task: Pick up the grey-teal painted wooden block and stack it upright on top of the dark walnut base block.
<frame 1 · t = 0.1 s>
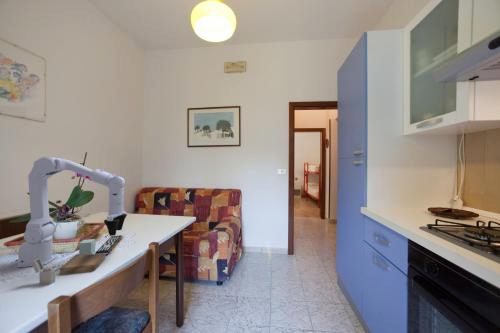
hand: (115, 232, 95), 10 cm above the table, fingers open, 7 cm apart
lighter: (43, 283, 72), on the table
walnut base: (84, 267, 84), on the table
teal block: (87, 254, 95), on the table
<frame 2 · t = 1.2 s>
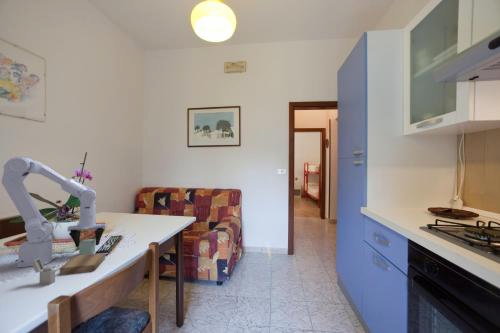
hand: (87, 245, 95), 4 cm above the table, fingers open, 7 cm apart
nothing on the table moved.
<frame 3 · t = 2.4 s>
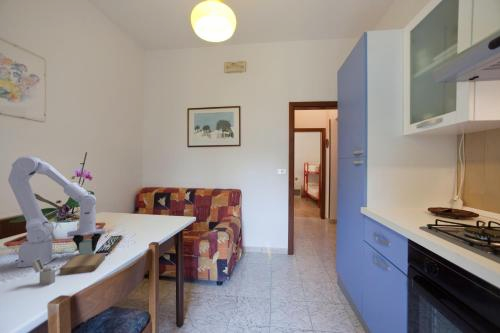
hand: (87, 250, 95), 1 cm above the table, fingers closed on teal block, 4 cm apart
teal block: (87, 254, 95), on the table, touching gripper
everything else where it was.
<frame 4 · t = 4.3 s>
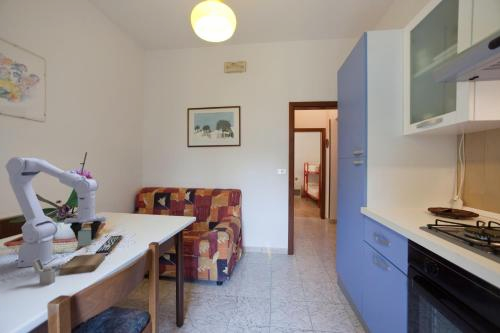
hand: (86, 239, 88), 9 cm above the table, fingers closed on teal block, 4 cm apart
teal block: (86, 243, 88), point 7 cm above the table, touching gripper
everything else where it was.
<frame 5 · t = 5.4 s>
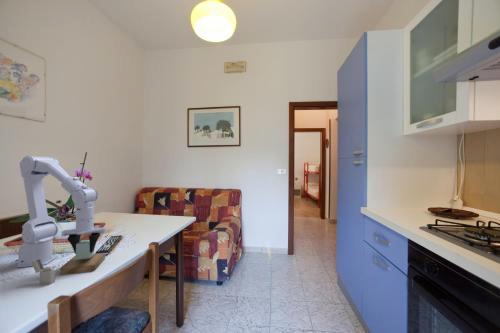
hand: (84, 252, 84), 6 cm above the table, fingers closed on teal block, 4 cm apart
teal block: (85, 256, 84), point 4 cm above the table, touching gripper
everything else where it was.
when the fingers open (6 cm above the table, at t = 6.2 s): teal block drops 1 cm, point 2 cm above the table.
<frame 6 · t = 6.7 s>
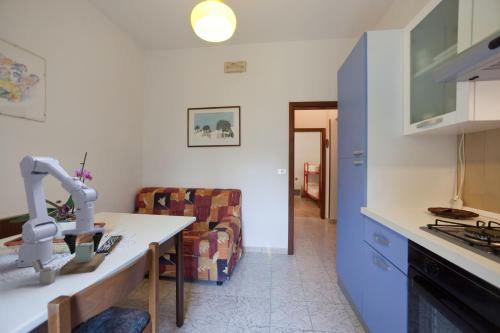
hand: (84, 252, 84), 6 cm above the table, fingers open, 7 cm apart
teal block: (84, 259, 84), point 2 cm above the table
everything else where it was.
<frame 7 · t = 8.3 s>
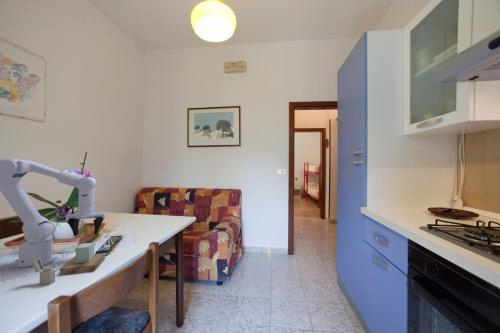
hand: (86, 234, 92), 10 cm above the table, fingers open, 7 cm apart
walnut base: (84, 267, 84), on the table, touching teal block
teal block: (85, 260, 84), point 2 cm above the table, touching walnut base
everything else where it was.
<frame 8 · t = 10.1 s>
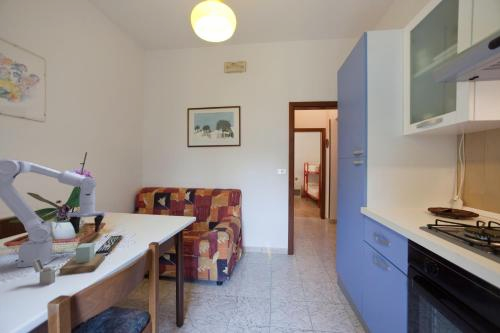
hand: (87, 232, 97), 9 cm above the table, fingers open, 7 cm apart
walnut base: (84, 267, 84), on the table
teal block: (85, 260, 84), point 2 cm above the table
everything else where it was.
at the end: teal block inside the target area on the walnut base (0.4 cm from its centre), point 3.0 cm above the walnut base's base; teal block tilted 0°; the gripper is holding nothing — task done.
